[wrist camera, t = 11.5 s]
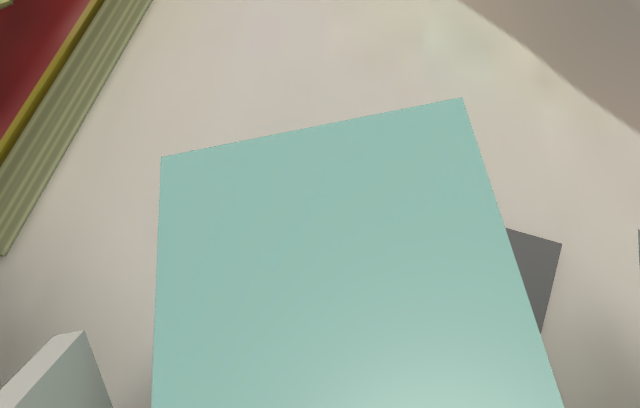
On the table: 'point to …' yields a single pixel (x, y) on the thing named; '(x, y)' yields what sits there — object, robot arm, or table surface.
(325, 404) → the mint green cube
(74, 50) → the hardcover book
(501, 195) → the table surface
